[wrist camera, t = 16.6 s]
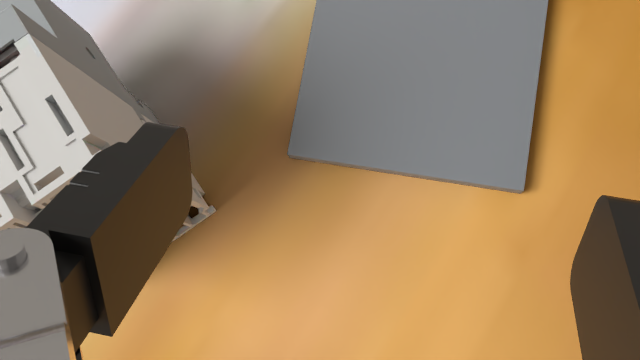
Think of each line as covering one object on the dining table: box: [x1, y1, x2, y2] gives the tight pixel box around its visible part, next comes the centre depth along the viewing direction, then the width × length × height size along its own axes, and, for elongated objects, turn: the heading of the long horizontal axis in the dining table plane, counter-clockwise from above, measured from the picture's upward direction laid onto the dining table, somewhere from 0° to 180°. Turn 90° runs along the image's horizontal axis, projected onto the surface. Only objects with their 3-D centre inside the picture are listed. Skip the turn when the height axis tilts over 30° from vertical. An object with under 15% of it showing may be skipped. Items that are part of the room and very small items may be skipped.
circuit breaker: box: [0, 0, 216, 243], centre depth 32 cm, size 8×14×15 cm, turn 34°
